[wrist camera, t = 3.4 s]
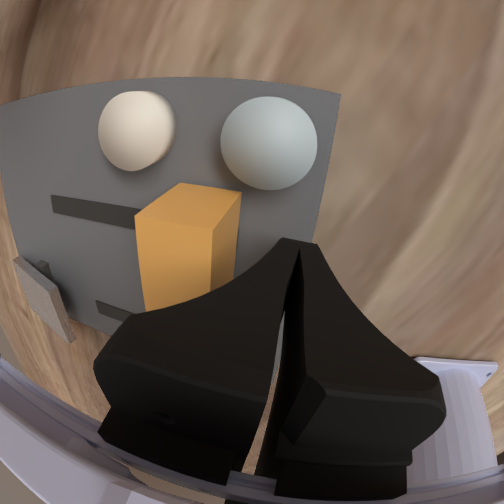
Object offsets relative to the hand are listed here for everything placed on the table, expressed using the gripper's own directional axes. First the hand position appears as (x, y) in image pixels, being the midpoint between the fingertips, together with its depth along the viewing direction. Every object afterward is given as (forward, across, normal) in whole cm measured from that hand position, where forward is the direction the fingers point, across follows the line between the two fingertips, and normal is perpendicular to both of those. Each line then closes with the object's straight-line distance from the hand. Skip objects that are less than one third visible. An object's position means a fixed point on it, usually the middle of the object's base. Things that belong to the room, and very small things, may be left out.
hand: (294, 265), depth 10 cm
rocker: (0, +15, +7) cm, 16 cm away
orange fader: (+1, +4, 0) cm, 4 cm away
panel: (+3, +9, +2) cm, 10 cm away
